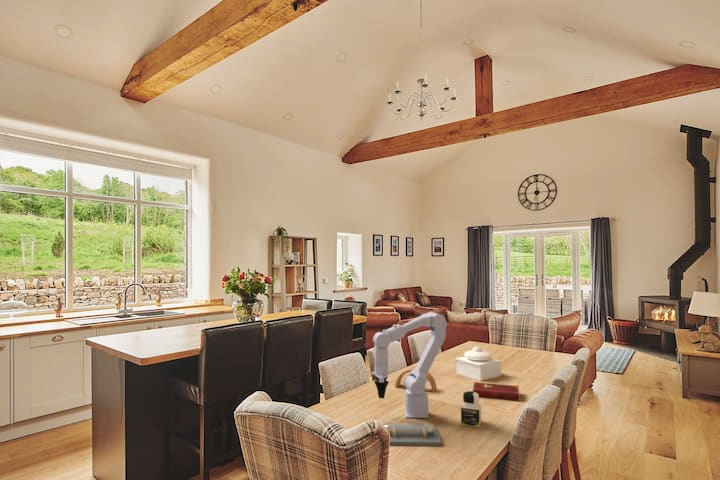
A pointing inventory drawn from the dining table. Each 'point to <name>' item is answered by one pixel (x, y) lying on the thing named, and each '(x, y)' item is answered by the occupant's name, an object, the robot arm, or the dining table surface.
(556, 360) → the dining table surface
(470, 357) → the butter dish
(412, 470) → the dining table surface
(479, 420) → the medicine bottle
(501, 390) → the hardcover book
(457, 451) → the dining table surface
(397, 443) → the tool rest
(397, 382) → the arch
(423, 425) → the spanner bar
